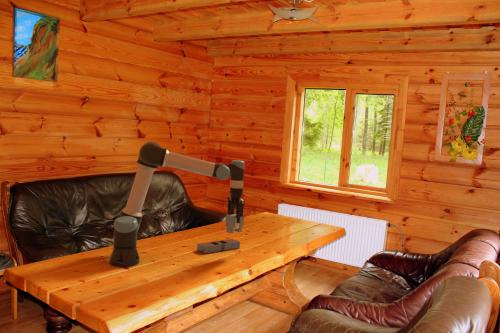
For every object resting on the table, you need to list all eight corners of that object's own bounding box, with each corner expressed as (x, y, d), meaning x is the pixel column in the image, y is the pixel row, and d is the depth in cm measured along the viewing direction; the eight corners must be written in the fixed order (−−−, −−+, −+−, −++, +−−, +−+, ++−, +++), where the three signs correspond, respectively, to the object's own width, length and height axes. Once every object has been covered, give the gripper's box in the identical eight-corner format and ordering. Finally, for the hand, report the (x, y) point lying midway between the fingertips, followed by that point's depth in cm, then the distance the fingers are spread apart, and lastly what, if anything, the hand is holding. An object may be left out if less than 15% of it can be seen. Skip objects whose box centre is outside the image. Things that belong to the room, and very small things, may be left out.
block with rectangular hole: (204, 254, 250) (204, 247, 250) (196, 250, 256) (197, 243, 256) (239, 248, 267) (240, 241, 266) (231, 244, 273) (232, 238, 273)
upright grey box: (229, 233, 245) (230, 216, 244) (224, 232, 248) (225, 214, 247) (242, 231, 251) (243, 214, 250) (238, 230, 254) (239, 213, 254)
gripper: (251, 189, 243) (248, 230, 245) (232, 185, 256) (230, 223, 258) (240, 189, 238) (238, 231, 241) (222, 185, 252) (220, 225, 254)
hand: (234, 227), depth 249 cm, fingers closed on upright grey box, 4 cm apart
